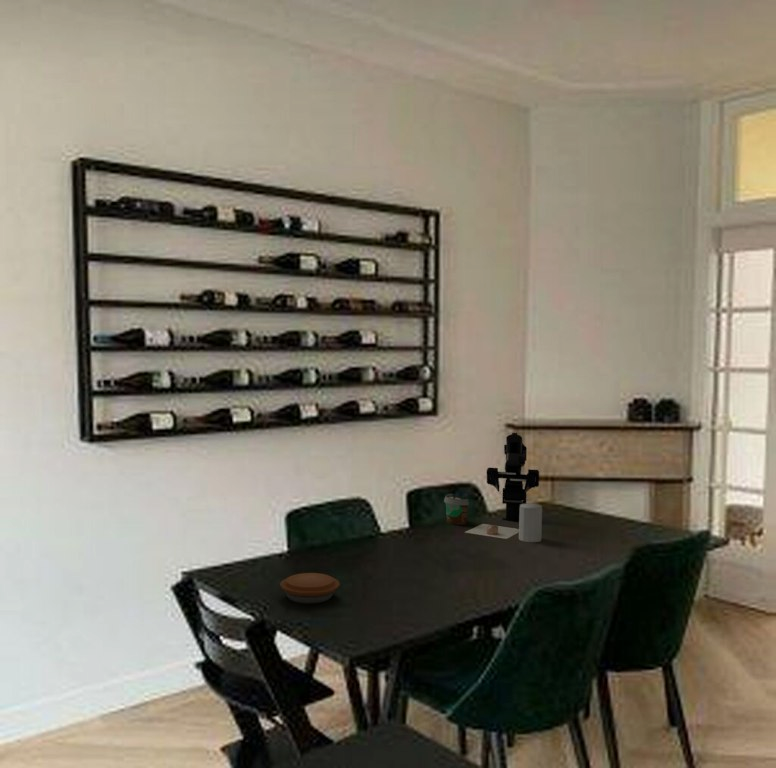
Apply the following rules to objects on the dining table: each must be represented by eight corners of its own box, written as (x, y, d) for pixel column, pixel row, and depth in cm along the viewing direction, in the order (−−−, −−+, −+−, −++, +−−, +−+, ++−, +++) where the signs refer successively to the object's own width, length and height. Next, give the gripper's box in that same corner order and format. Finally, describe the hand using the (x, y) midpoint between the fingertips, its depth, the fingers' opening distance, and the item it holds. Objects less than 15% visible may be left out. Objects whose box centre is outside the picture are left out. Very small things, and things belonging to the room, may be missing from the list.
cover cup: (523, 536, 271) (524, 502, 271) (543, 539, 268) (544, 505, 267) (515, 540, 265) (516, 506, 264) (536, 544, 261) (537, 508, 261)
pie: (268, 596, 203) (268, 577, 203) (314, 584, 214) (314, 566, 214) (304, 611, 192) (305, 591, 192) (351, 597, 203) (351, 579, 203)
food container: (437, 520, 294) (438, 494, 293) (451, 519, 296) (452, 493, 296) (453, 527, 282) (454, 500, 282) (468, 526, 285) (469, 499, 284)
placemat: (482, 524, 288) (482, 523, 288) (523, 530, 280) (523, 529, 280) (464, 533, 275) (464, 532, 275) (506, 539, 266) (506, 538, 266)
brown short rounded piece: (489, 531, 276) (489, 524, 276) (499, 533, 274) (500, 526, 274) (484, 533, 273) (485, 526, 273) (495, 535, 271) (495, 528, 271)
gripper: (488, 446, 284) (484, 471, 271) (539, 448, 280) (539, 474, 267) (488, 470, 290) (485, 496, 276) (539, 473, 286) (538, 499, 273)
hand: (511, 491), depth 273 cm, fingers open, 9 cm apart
